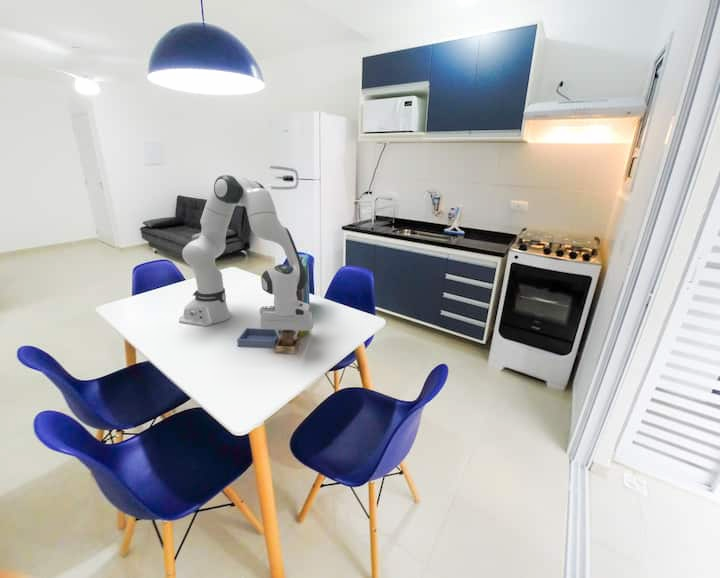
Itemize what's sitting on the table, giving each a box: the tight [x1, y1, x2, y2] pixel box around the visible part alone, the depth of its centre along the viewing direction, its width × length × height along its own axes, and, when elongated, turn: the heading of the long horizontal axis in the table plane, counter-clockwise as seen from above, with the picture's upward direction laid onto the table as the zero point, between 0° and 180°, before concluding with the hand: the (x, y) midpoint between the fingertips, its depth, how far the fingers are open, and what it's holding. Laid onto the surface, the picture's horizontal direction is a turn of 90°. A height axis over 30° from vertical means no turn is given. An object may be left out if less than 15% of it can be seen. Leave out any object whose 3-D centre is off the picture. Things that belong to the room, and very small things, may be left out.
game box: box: [296, 254, 310, 305], centre depth 164 cm, size 20×6×27 cm, turn 5°
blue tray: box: [236, 327, 282, 349], centre depth 137 cm, size 15×10×4 cm
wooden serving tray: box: [274, 337, 302, 355], centre depth 132 cm, size 8×8×4 cm
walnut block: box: [281, 330, 294, 347], centre depth 131 cm, size 4×4×6 cm
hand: (287, 338), depth 131 cm, fingers open, 4 cm apart
